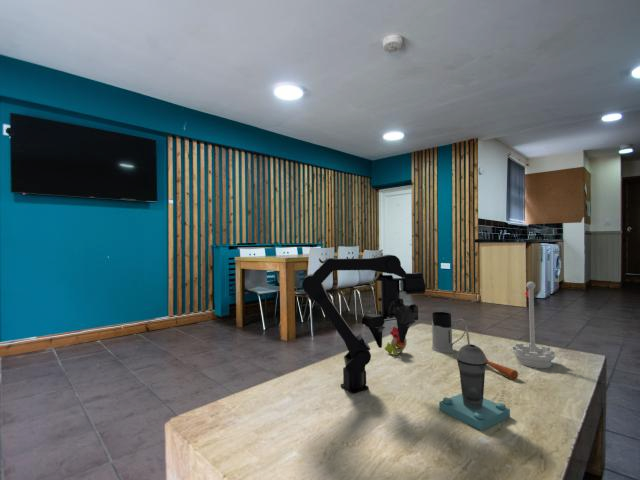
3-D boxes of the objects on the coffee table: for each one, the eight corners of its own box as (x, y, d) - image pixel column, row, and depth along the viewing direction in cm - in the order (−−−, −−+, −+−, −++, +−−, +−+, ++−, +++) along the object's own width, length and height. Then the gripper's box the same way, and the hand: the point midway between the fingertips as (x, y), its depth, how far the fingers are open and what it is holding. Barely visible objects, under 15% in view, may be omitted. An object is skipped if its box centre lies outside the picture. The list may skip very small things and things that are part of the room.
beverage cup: (476, 414, 80) (474, 332, 80) (451, 402, 86) (449, 327, 87) (494, 407, 84) (492, 328, 84) (469, 396, 90) (467, 323, 90)
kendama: (506, 369, 104) (460, 347, 123) (508, 387, 105) (461, 361, 124) (520, 363, 106) (472, 342, 125) (521, 380, 107) (474, 357, 126)
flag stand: (562, 369, 113) (560, 283, 114) (522, 368, 115) (519, 283, 116) (543, 357, 126) (541, 279, 127) (507, 356, 128) (505, 279, 129)
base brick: (481, 430, 76) (481, 418, 77) (439, 409, 87) (439, 398, 87) (510, 416, 83) (509, 405, 83) (467, 398, 93) (467, 388, 93)
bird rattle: (395, 355, 137) (379, 350, 133) (403, 329, 139) (387, 323, 135) (406, 359, 131) (390, 354, 127) (413, 333, 134) (398, 326, 130)
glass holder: (435, 344, 144) (435, 310, 144) (469, 351, 135) (469, 314, 135) (428, 349, 137) (427, 314, 137) (463, 356, 128) (462, 318, 128)
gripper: (385, 301, 90) (386, 358, 89) (431, 295, 99) (432, 346, 99) (360, 296, 99) (361, 347, 99) (404, 291, 109) (405, 338, 109)
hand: (391, 345), depth 101 cm, fingers open, 9 cm apart
